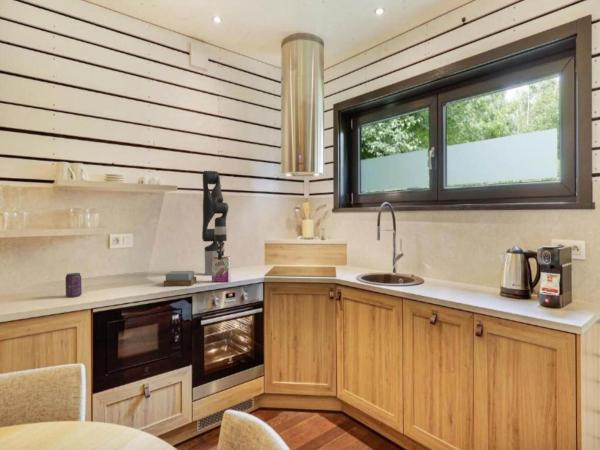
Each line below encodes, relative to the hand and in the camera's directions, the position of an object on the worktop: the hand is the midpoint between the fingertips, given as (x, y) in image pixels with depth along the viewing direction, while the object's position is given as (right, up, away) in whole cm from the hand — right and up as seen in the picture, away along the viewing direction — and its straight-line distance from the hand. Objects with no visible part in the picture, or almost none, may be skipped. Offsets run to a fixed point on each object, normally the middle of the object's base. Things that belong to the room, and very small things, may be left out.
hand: (220, 259), depth 228 cm
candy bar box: (0, -15, 0) cm, 15 cm away
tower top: (-24, -12, -7) cm, 27 cm away
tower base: (-23, -16, -7) cm, 29 cm away
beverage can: (-69, -16, -39) cm, 81 cm away
